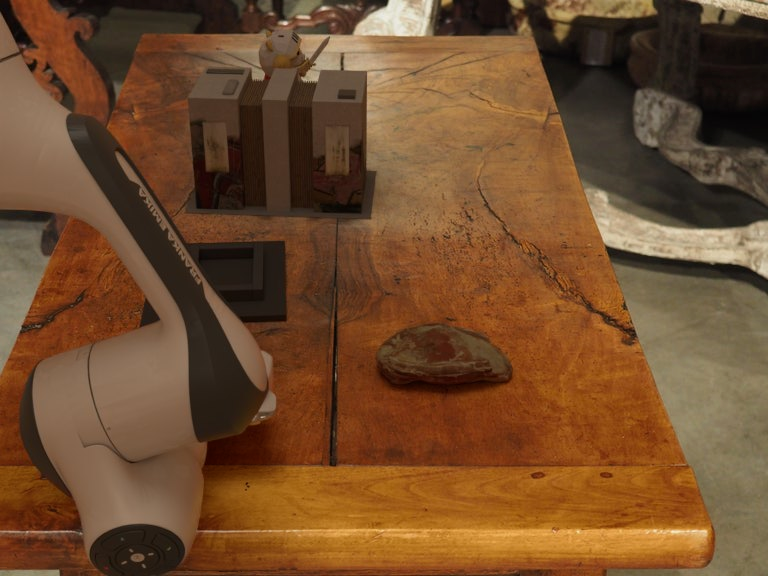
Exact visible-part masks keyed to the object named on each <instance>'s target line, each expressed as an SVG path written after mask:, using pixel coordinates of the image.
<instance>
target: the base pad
mask: <svg viewBox="0 0 768 576" xmlns="http://www.w3.org/2000/svg"><path fill="white" fill-rule="evenodd" d="M186 243H187V244H188V246H189V247H190V249H191V250H192V252H193V254H194V255H195V257H196V258H197V260H198V261H199V263H200V264H201V266H202V268H203V269H204V271H205V272H206V274H207V275H208V277H209V278H210V280H211V281H212V283H213V284H214V285H215V287H216V288H217V290H218V291H219V292H220V294H221V295H222V296H223V297H224V299H225V300H226V301H227V302H228V303H229V305H230V306H231V307H232V308H233V310H234V311H235V312H236V314H237V315H238V316H239V317H240V319H241V320H242V322H243V323H251V322H253V323H254V322H281V321H283V322H284V321H287V281H286V279H287V278H286V277H287V275H286V241H285V240H257V241H255V240H254V241H253V240H252V241H223V242H221V241H217V242H186Z"/></svg>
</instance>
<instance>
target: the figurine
mask: <svg viewBox="0 0 768 576" xmlns="http://www.w3.org/2000/svg"><path fill="white" fill-rule="evenodd" d="M265 36H266V38H265V39H264V40H263V41H262V43H261V44H260V46H259V49H258V61H259V65H260V68H261V71H263V73H264V76H263V79H264V81H265V80H266V81H267V80H268V82H269V80H270V79H271V76H272V74H273V71H274V69H275V68H282V69H298V80H299V82H300V81H301V82H302V81H304V79H302V78H304V77H306V76H307V75H308V74H307V73H308V72H309V70H311V68H313V67H316V66H317V63H316V61H317V59H318V58H319V56H320V55H321V53H322V52H323V51H324V49H325V48H326V47H327V46H328V44H329V41H330V39H331V36H330V35H329V36H327V37H326V38H324V39H323V40H322V42H321V43H320V44H319V46H318V47H317V48H316V50H315V51H314V53H313V54H312V55H311V57H309V56H307V57H306V54H305V53H303V50H302V49H301V44H302V40H303V39H302V38H301V37H300V36H299V35H298V33H297V32H295V30H294V29H277V30H274V31H270V30H267V29H266V33H265Z"/></svg>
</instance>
